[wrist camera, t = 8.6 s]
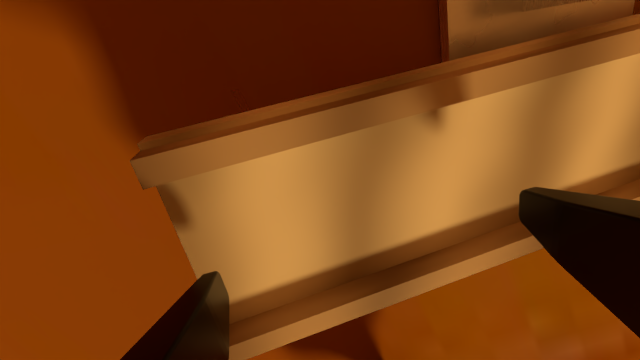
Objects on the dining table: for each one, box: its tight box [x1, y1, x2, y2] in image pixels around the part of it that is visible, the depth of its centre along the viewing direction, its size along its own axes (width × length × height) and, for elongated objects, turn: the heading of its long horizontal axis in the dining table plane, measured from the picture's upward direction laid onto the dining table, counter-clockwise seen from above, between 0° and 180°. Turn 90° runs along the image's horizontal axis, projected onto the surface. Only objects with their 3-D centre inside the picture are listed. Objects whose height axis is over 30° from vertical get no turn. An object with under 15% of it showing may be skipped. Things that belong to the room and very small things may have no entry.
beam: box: [130, 14, 640, 360], centre depth 13 cm, size 28×8×2 cm, turn 102°
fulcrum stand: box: [438, 0, 635, 63], centre depth 16 cm, size 10×16×5 cm, turn 12°
